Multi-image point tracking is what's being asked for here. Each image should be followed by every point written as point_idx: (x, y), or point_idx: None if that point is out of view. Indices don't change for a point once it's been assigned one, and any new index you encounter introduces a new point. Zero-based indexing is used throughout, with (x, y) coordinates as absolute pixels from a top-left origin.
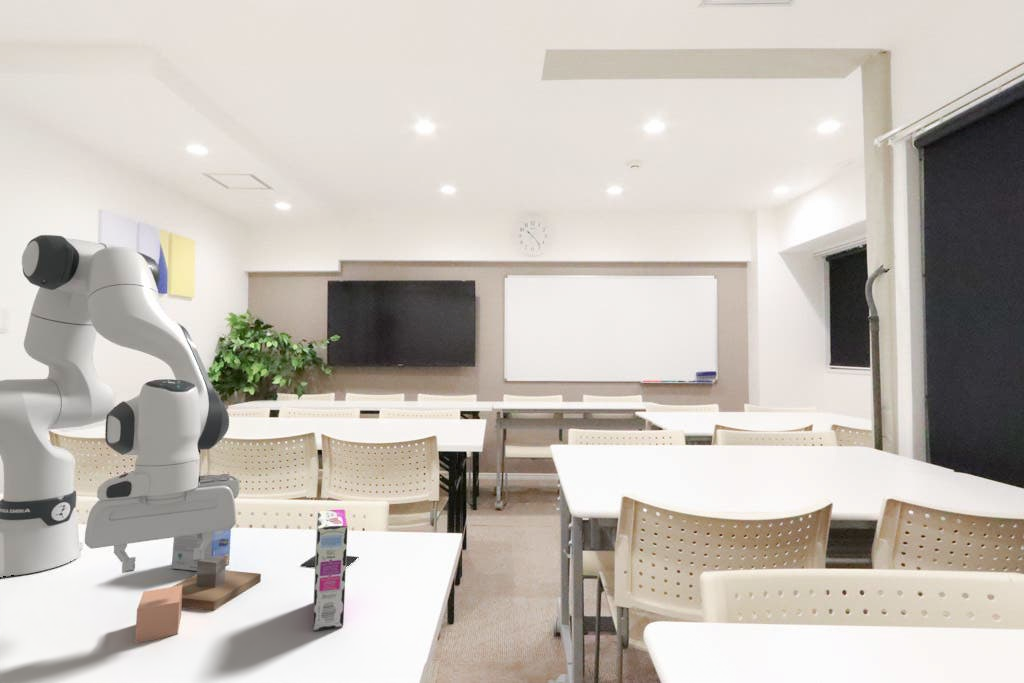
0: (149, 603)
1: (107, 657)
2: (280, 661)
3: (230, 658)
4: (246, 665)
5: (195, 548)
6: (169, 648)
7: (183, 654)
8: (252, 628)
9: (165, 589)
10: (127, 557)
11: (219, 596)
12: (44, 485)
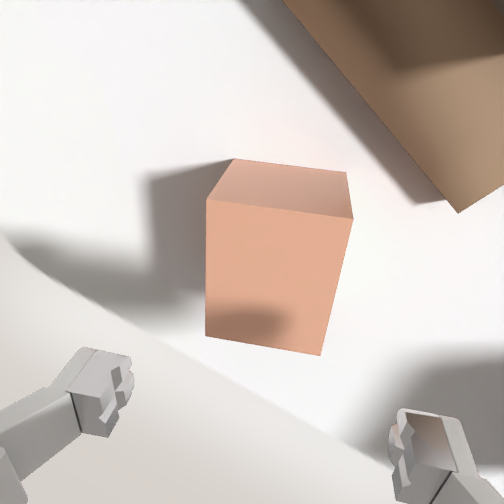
0: (236, 315)
1: (181, 302)
2: None
3: None
4: None
5: (418, 473)
6: None
7: (321, 374)
8: (487, 363)
9: (285, 228)
10: (64, 418)
11: (492, 176)
12: None
